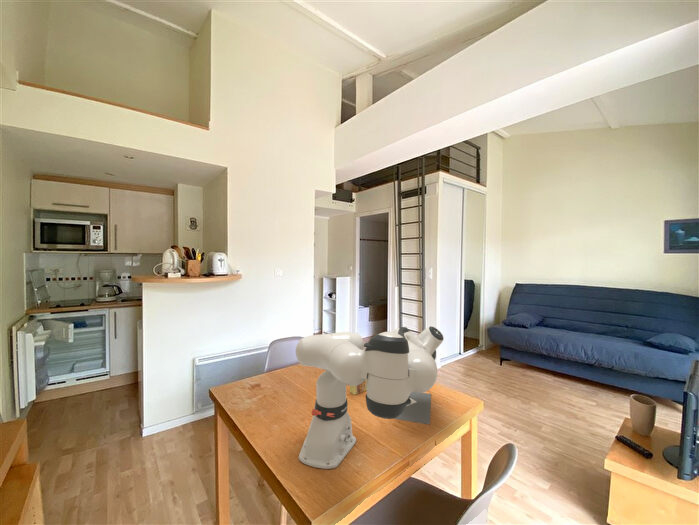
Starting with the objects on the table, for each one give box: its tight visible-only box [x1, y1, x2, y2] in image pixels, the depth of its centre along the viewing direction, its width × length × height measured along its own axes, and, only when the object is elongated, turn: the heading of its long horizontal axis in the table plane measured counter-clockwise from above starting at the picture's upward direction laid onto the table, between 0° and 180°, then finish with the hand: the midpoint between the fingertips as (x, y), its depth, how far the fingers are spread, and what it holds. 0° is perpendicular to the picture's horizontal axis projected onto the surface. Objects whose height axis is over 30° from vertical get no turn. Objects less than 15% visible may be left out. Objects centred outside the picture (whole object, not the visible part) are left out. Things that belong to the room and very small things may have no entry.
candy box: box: [349, 379, 367, 396], centre depth 139 cm, size 9×4×15 cm, turn 129°
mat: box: [392, 392, 432, 426], centre depth 125 cm, size 26×22×1 cm
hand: (401, 367), depth 130 cm, fingers closed on block, 4 cm apart
